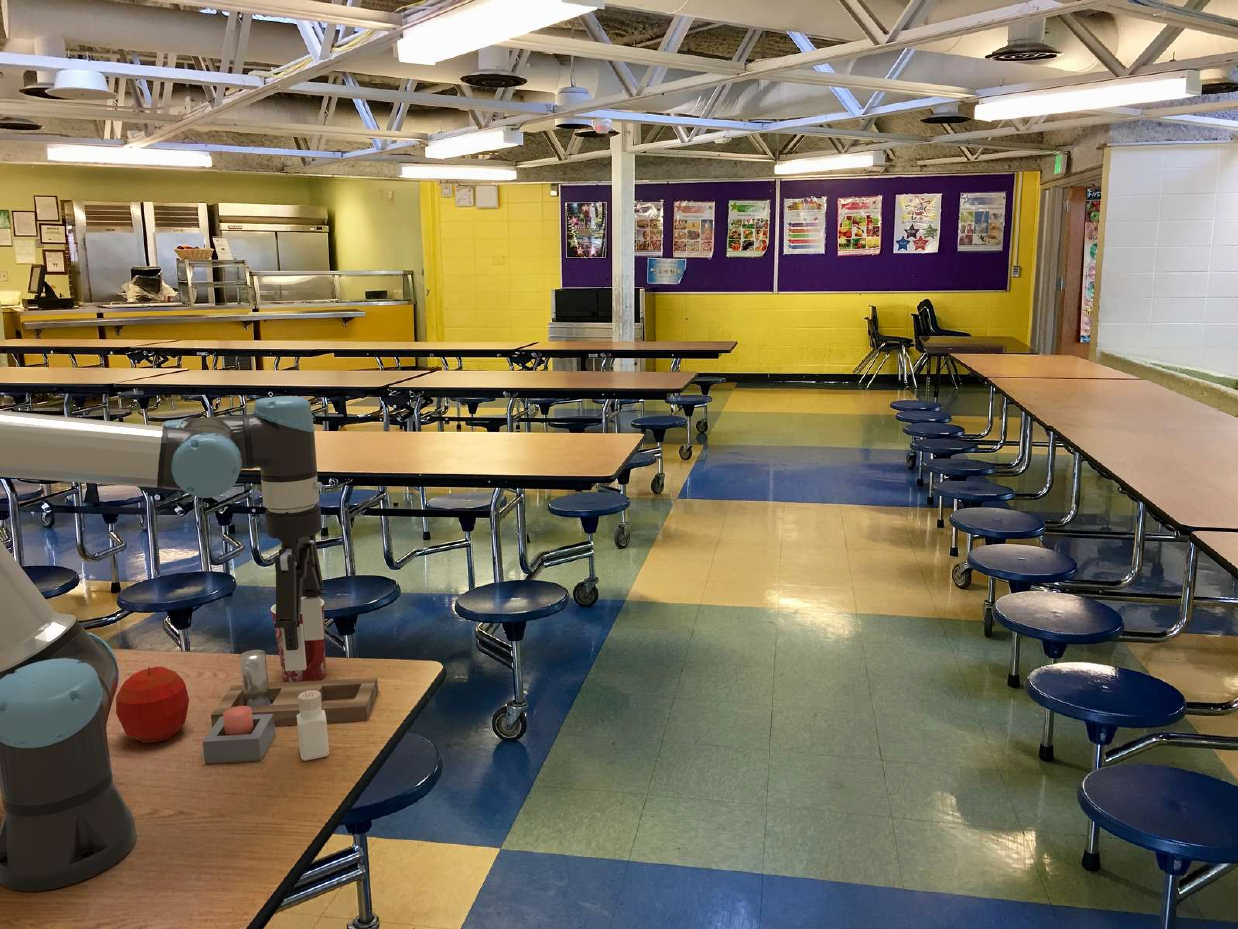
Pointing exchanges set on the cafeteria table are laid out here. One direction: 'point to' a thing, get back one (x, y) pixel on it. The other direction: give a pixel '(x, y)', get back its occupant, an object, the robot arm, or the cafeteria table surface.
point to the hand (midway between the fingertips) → (305, 653)
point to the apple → (152, 704)
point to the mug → (312, 653)
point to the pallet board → (288, 692)
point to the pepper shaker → (312, 726)
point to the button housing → (239, 741)
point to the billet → (254, 678)
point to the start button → (238, 721)
